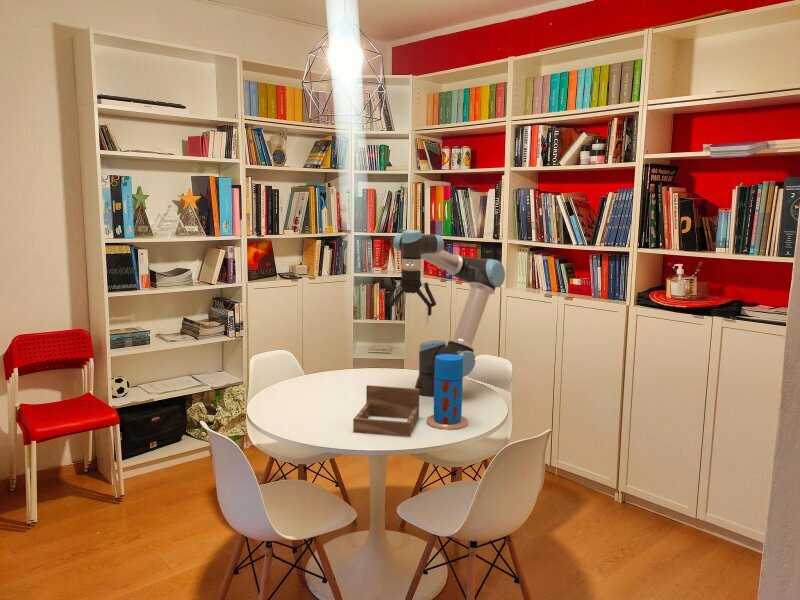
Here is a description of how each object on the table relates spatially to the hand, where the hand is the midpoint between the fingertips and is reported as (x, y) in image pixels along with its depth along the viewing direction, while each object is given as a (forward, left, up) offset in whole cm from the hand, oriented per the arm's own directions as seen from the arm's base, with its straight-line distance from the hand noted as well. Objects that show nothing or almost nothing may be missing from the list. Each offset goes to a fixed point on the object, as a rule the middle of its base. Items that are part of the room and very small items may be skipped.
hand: (410, 322), depth 256 cm
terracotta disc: (+10, +17, -37) cm, 42 cm away
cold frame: (+18, -5, -37) cm, 41 cm away
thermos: (+10, +17, -36) cm, 41 cm away
